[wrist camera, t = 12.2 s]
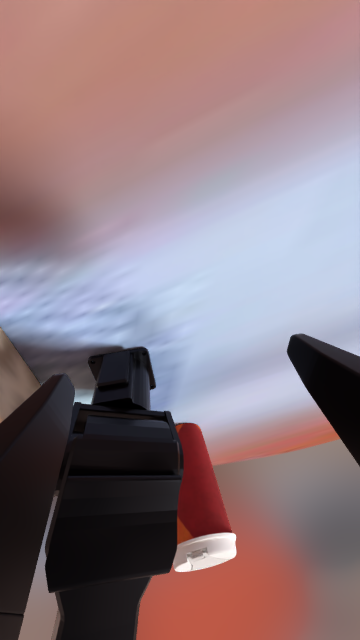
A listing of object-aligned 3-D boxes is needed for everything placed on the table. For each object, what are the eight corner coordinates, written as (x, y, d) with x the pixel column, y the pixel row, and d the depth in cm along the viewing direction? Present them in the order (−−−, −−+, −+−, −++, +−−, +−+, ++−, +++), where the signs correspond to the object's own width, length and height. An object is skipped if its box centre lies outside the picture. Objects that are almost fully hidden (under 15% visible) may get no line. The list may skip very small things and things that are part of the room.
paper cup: (153, 429, 32) (159, 569, 20) (199, 412, 31) (234, 546, 19) (170, 450, 36) (183, 576, 24) (211, 436, 35) (245, 557, 24)
